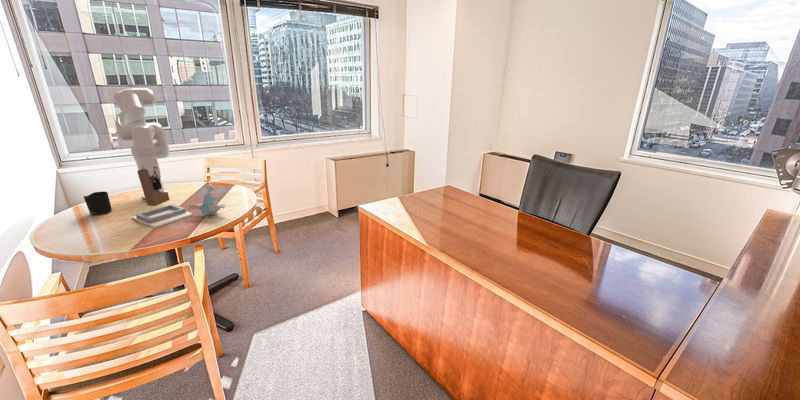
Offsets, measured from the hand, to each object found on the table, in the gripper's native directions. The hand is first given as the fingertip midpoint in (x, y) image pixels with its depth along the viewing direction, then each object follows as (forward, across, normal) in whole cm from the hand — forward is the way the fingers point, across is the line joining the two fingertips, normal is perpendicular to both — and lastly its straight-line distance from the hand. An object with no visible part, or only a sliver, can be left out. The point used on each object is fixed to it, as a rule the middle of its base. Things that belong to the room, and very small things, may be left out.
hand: (155, 188), depth 165 cm
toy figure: (+16, +18, +15) cm, 28 cm away
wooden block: (+8, 0, 0) cm, 8 cm away
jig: (+16, 0, 0) cm, 16 cm away
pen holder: (+16, -34, -13) cm, 40 cm away
